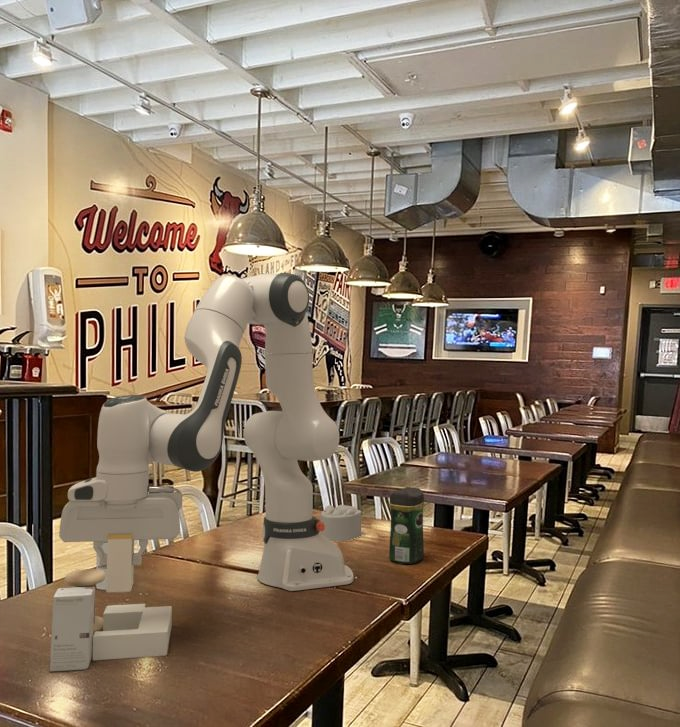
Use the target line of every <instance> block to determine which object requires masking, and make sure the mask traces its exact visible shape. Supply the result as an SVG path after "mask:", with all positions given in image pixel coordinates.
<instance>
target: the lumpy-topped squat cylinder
mask: <svg viewBox="0 0 680 727" xmlns="http://www.w3.org/2000/svg"><path fill="white" fill-rule="evenodd" d="M320 521H321V522H323V523H324V525H325V529H323V530H324V531H322V532H320V533H321V534H323V535H324V536H325V537H326V538H328V539H329V540H330V541H343V542H346V541H345V540H350V541H352V540H351V539H353V540H355V539H354V538H356V539H358V538H360V537H362V511H361V510H360V509H357V508H356V507H355V506H352V505H345V504H339V505H337V506H336V507H334V506H333V505H332V504H329V505H327V506H326V507H325V508H324V510H322V511H321V512H320ZM359 536H360V537H359ZM357 537H358V538H357Z"/></svg>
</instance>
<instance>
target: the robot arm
mask: <svg viewBox="0 0 680 727" xmlns="http://www.w3.org/2000/svg"><path fill="white" fill-rule="evenodd" d="M309 304H310V292H309V288H308V287H307V285H306V283H305V281H304V279H303V278H302V277H301V276H299V275H297V274H294V273H290V272H280V273H259V274H256V275H253V276H252V275H251V276H247V277H237V276H234V275H223V276H219V277H218V278H216V279H215V280H214V281H213V282H212V284H211V285H210V286H209V288H208V289H207V290H206V291H205V293H204V294H203V296H202V297H201V299H200V301H199V302H198V303H197V305H196V308H195V309H194V311H193V313H192V314H191V317H190V319H189V321H188V323H187V325H186V328H185V332H184V344H185V346H186V349H187V350H188V352H189V353H190V355H191V356H192V357H193V358H194V359H195V360H197V362H198V363H201V365H203V366H205V367H206V375H205V379H204V382H203V384H202V387H201V390H200V394H199V396H198V397H199V398H198V400H197V402H196V406H195V407H194V409H192V410H191V411H190V412H188V413H186V414H185V413H174V412H167V410H164V409H161V408H159V407H157V406H156V405H154V404H152V403H151V402H149V401H148V399H147V397H146V396H144V395H141V394H129V395H119V396H115V397H112V398H110V399H108V400H106V401H105V402H104V403H103V404H102V406H101V409H100V412H99V417H98V425H97V438H96V440H97V441H96V442H97V443H96V444H97V446H96V447H97V451H98V456H99V458H98V464H97V466H96V476H95V477H92V478H88V479H85V480H83V481H80V482H79V481H78V482H77V483H75V484H73V485H71V487H70V488H69V489H68V491H67V499H68V500H69V501H68V502H67V503H66V504H65V505H64V506H63V508H62V511H61V517H60V522H59V532H58V534H59V536H58V537H59V538H60V540H61V541H62V543H63V542H64V543H88V542H90V543H92V542H93V543H92V547H93V550H94V551H95V553H97V555H98V556H99V557H100V566H107V554H105V552H104V551H103V549H102V545H103V544H104V541H108V539H107V535H108V534H132V540H134V541H138V546H139V547H140V548H139V551H138V552H134V553H133V555H132V560H133V561H132V565H134V566H141V565H142V555H143V553H144V552H145V550H146V548H147V547H148V545H149V541H151V540H153V541H155V540H175V539H177V537H178V536H179V535H180V533H181V519H180V510H181V509H182V506H183V494H182V492H181V490H179V489H178V488H175V487H174V486H172V485H168V486H167V485H166V486H160V485H159V486H158V485H156V486H154V485H150V486H149V481H150V480H149V476H150V474H149V472H150V467H149V466H150V463H157V464H161V465H166V466H173V467H177V468H180V469H183V470H187V471H189V472H200V471H201V472H202V471H204V470H206V469H207V468H209V467H210V466H211V465H213V464H214V462H215V461H216V460H217V459H218V457H219V455H220V453H221V452H222V447H223V441H224V432H225V425H226V423H227V422H226V421H227V418H228V414H229V410H230V408H231V404H232V401H233V397H234V394H235V391H236V387H237V383H238V380H239V376H240V373H241V368H242V363H243V362H242V361H243V360H242V359H243V358H242V352H241V349H240V345H241V340H242V339H243V336H244V334H245V333H246V332H245V331H246V329H247V326H248V325H249V324H250V325H262V326H263V327H264V329H265V341H264V343H265V344H264V347H265V348H264V353H265V354H264V357H265V358H264V360H265V361H264V364H265V366H264V367H265V385H266V386H265V387H266V388H267V389H268V391H269V392H270V393H271V394H272V395H273V396H274V397H276V399H277V400H278V402H279V404H280V407H281V410H267V411H262V412H256V413H254V414H252V415H251V416H250V417H249V418H248V419H247V420H246V423H245V425H244V429H243V439H244V442H245V445H246V447H247V448H248V449H249V450H250V451H251V452H252V453H253V455H254V456H255V458H256V460H257V462H258V464H259V467H260V470H261V472H262V473H261V474H262V478H263V481H264V487H265V490H264V491H265V494H264V495H265V516H264V518H263V523H262V539H263V540H262V541H263V543H264V544H263V551H262V556H261V557H262V558H261V562H260V566H259V571H258V573H257V576H256V577H257V580H258V581H259V582H260V583H262V584H265V585H266V586H267V585H268V586H271V587H276V588H281V589H284V590H286V591H289V592H294V591H296V592H297V591H302V590H303V591H304V590H311V589H318V588H328V587H335V586H344V585H349V584H352V583H353V582H354V579H355V578H354V572H353V570H352V569H351V568H350V567H349V566H348V565H346V564H345V561H344V556H343V553H342V551H341V549H340V547H339V546H338V545H337V544H335V542H331V541H330V540H329V539H328V538H326V537H325V536H324V535H323V534H321V533H320V532H322V531H324V530H323V529H325V525H324V523H323V522H321V519H319V518H317V517H316V516H314V515H313V508H314V507H313V505H314V504H313V503H314V502H313V500H314V499H313V498H314V497H313V496H314V494H313V493H314V491H313V489H314V487H313V484H312V482H311V480H310V479H309V478H308V477H307V476H306V475H305V474H304V473H303V472H302V470H301V468H300V465H299V462H298V461H304V462H315V461H324V460H328V459H330V458H331V457H333V455H334V454H335V453H336V451H337V449H338V447H339V444H340V431H339V428H338V426H337V423H336V422H335V421H334V420H333V419H332V418H331V416H329V415H328V414H327V412H326V411H325V410H324V408H323V406H322V405H321V402H320V400H319V398H318V394H317V392H316V388H315V382H314V369H313V368H314V366H313V343H312V342H313V341H312V333H311V328H310V322H309V319H308V318H309V317H308V315H307V311H308V308H309V306H310V305H309Z"/></svg>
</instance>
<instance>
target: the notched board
mask: <svg viewBox="0 0 680 727" xmlns="http://www.w3.org/2000/svg"><path fill="white" fill-rule="evenodd" d="M172 607H173V606H171V605H170V606H168V605H167V606H166V605H165V606H150V607H149V606H147V607H146V603H132V604H130V603H129V604H114V605H113V604H111V605H106V607H105V609H104V612H103V614H102V615H103V616H102V618H103V629H102V630H100V631H98V632H95V633H94V634H93V644H92V661H103V660H104V661H105V660H117V659H118V660H121V659H132V658H133V659H134V658H148V657H163V656H164V657H165V656H167V655H168V650H169V645H170V644H169V643H170V638H171V632H172V631H171V630H172V620H173V619H172V617H173V616H172V613H173V610H172V609H173V608H172Z"/></svg>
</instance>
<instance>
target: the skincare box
mask: <svg viewBox="0 0 680 727" xmlns="http://www.w3.org/2000/svg"><path fill="white" fill-rule="evenodd" d="M94 599H95V600H96V586H95V587H75V586H72V587H60V588H57V589H56V591H55V593H54V595H53V598H52V615H51V637H50V659H49V662H50V663H49V672H61V671H63V672H66V671H78V670H87V669H89V666H90V663H91V662H92V659H93V636H94V634H93V621H94Z"/></svg>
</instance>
